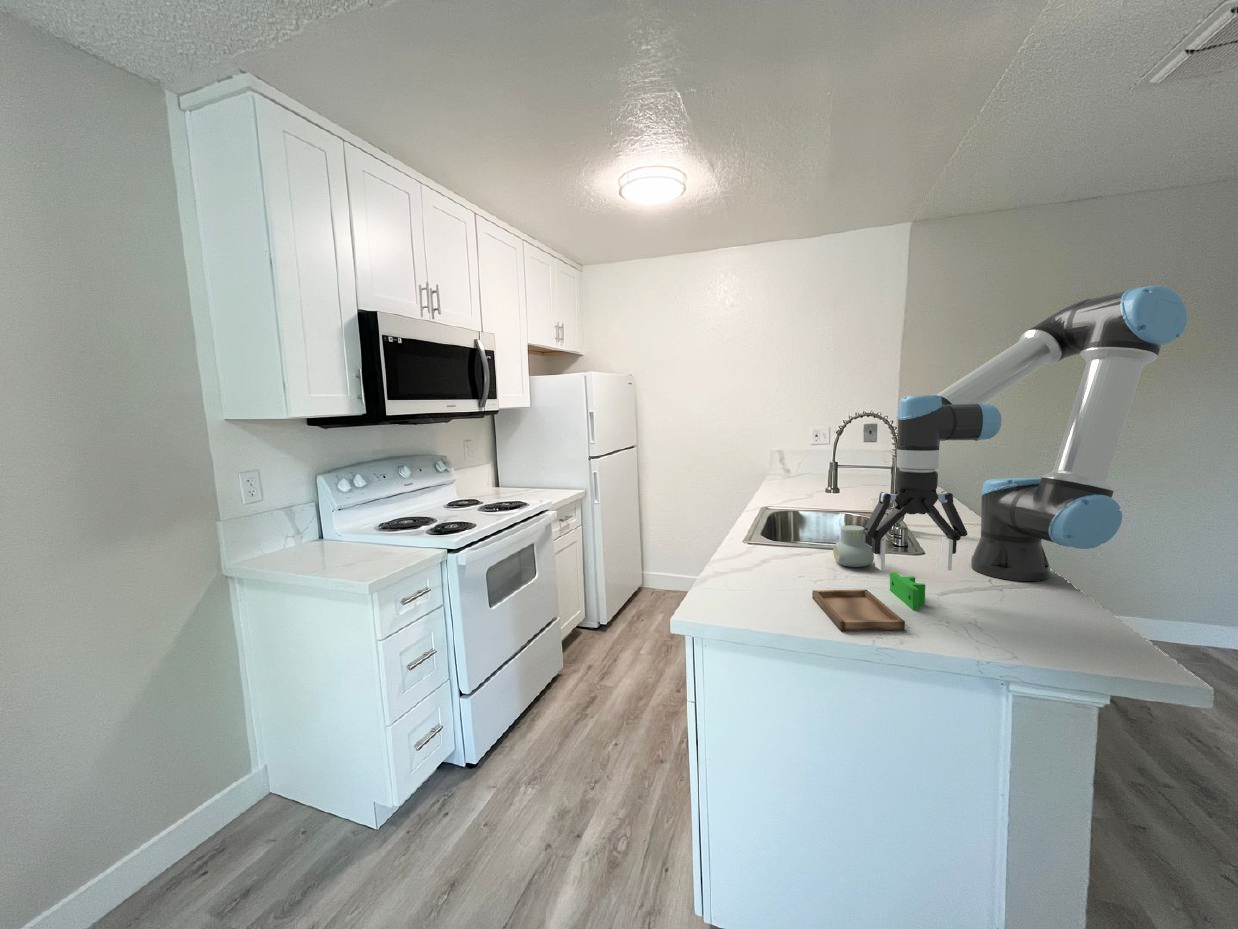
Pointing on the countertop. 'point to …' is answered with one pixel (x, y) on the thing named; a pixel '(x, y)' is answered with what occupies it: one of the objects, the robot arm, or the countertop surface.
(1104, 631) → the countertop surface
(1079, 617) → the countertop surface
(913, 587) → the pipe clamp
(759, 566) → the countertop surface
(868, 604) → the tray
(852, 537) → the air freshener
